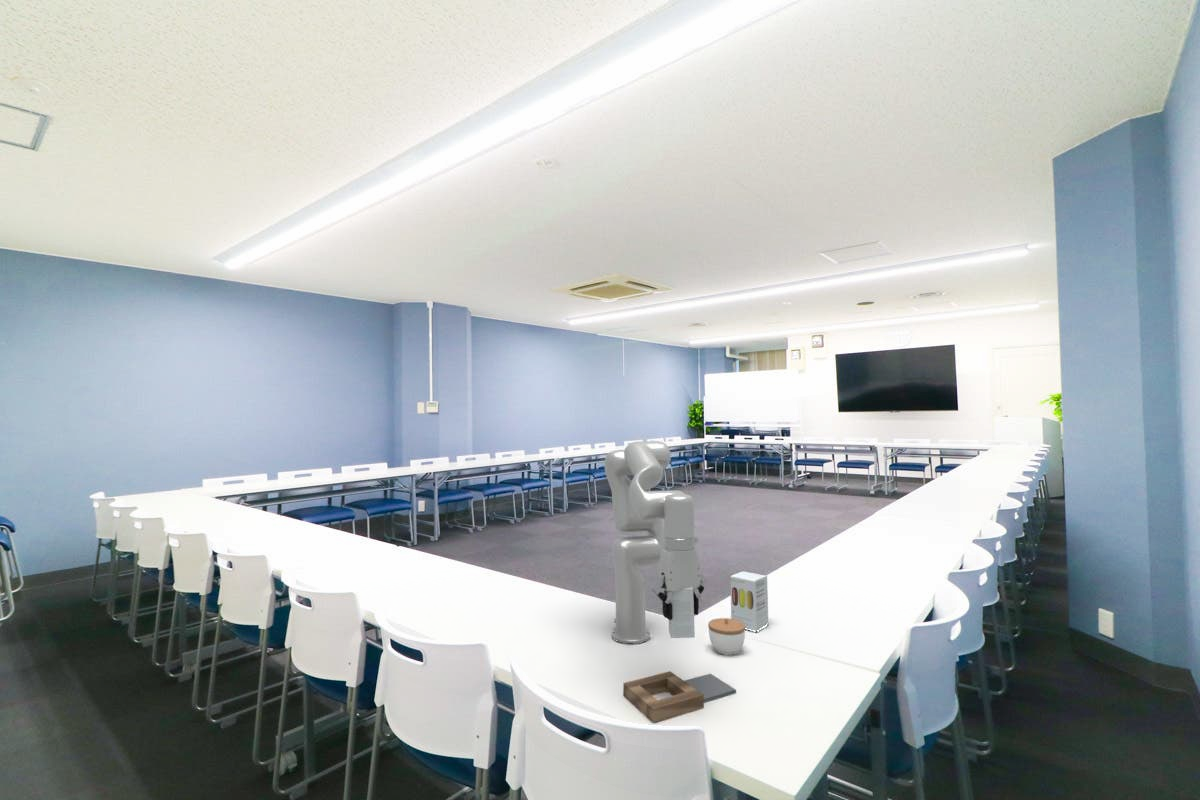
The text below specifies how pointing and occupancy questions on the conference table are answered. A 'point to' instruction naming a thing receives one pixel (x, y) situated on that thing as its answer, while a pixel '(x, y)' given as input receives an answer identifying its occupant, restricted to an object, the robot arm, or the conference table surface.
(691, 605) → the skincare box
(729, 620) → the lidded jar
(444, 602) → the conference table surface
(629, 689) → the frame
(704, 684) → the pad
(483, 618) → the conference table surface
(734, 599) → the supplement box
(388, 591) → the conference table surface
